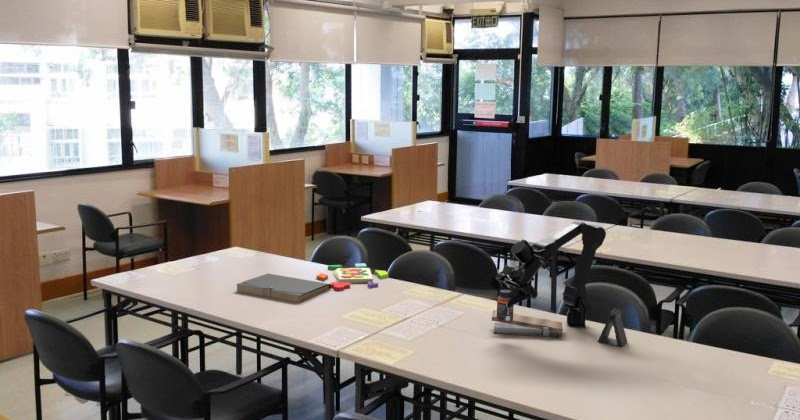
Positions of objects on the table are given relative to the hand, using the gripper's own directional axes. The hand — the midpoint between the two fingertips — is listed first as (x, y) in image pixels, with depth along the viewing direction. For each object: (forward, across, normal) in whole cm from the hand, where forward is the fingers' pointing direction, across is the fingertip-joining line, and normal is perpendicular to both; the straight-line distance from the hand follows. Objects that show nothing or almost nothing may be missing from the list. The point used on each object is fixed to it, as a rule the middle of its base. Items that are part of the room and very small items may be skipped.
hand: (502, 303), depth 263 cm
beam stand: (0, -3, +19) cm, 20 cm away
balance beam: (-2, -3, +17) cm, 18 cm away
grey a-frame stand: (-15, +20, +34) cm, 43 cm away
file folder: (+44, -92, -25) cm, 105 cm away
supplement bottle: (+4, 0, +6) cm, 7 cm away
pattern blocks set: (+19, -98, +1) cm, 100 cm away
